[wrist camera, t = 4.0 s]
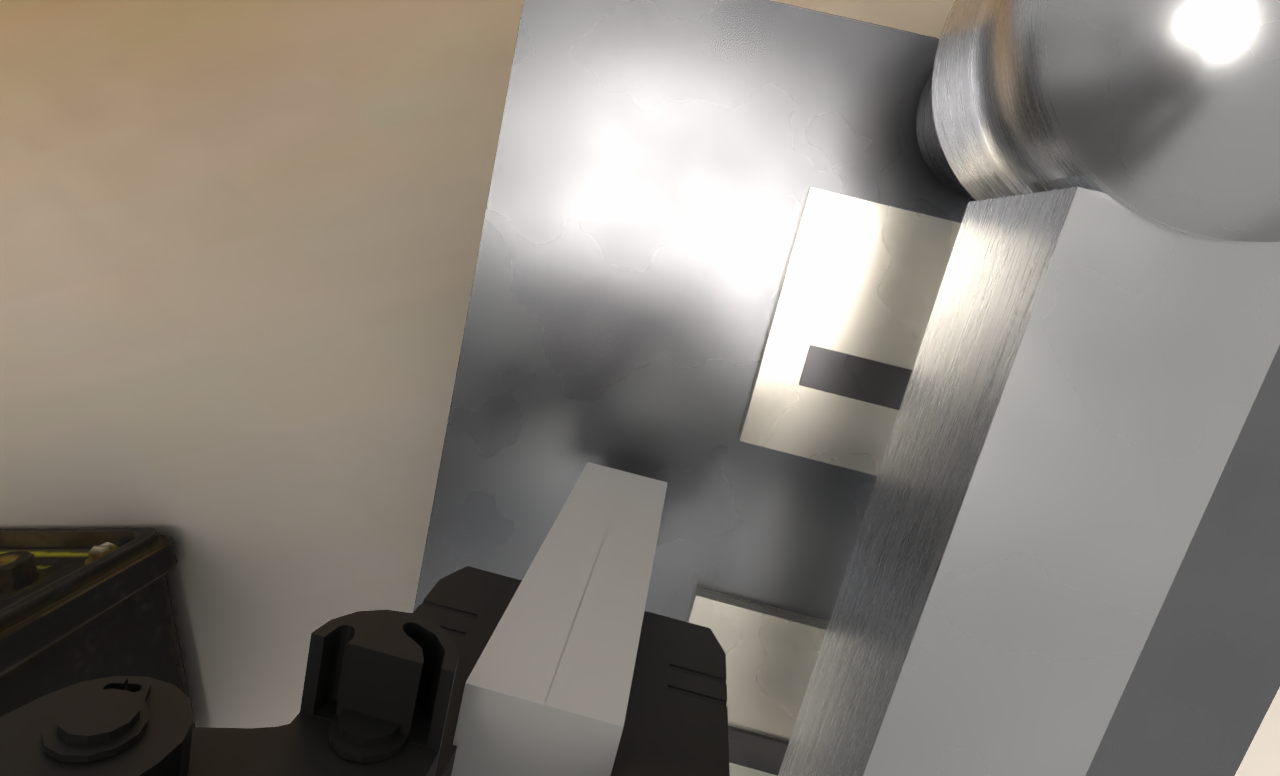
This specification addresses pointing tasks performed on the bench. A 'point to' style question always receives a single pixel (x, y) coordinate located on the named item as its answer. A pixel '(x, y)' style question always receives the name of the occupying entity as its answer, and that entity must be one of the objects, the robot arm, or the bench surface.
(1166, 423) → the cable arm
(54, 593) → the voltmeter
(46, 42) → the bench surface
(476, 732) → the robot arm
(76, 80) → the bench surface
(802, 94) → the grey slotted box
